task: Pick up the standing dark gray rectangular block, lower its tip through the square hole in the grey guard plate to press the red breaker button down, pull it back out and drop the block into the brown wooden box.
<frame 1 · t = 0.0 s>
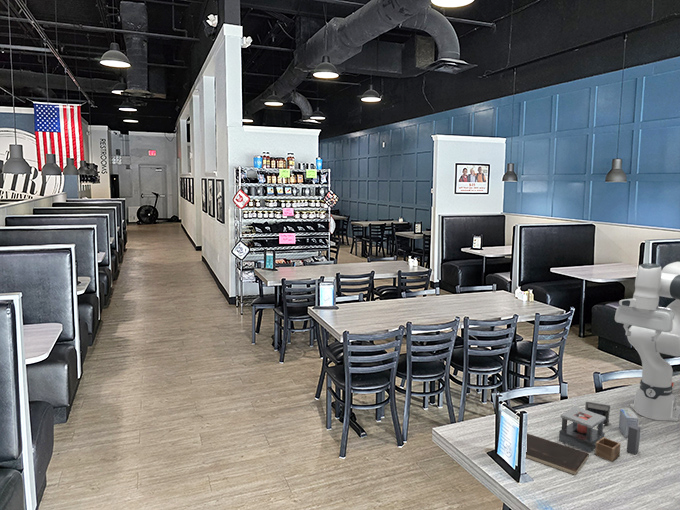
hand: (640, 338, 202), 39 cm above the table, tool pointing down, fingers open, 8 cm apart
breaker button: (582, 424, 197), point 7 cm above the table, slide at 0.0 cm
brown wooden box: (607, 455, 188), on the table
dark gray rectangular block: (632, 452, 191), on the table
electrical switch: (597, 423, 214), on the table
breaker: (581, 441, 198), on the table
hardcover book: (549, 456, 188), on the table
medicine box: (627, 433, 205), on the table
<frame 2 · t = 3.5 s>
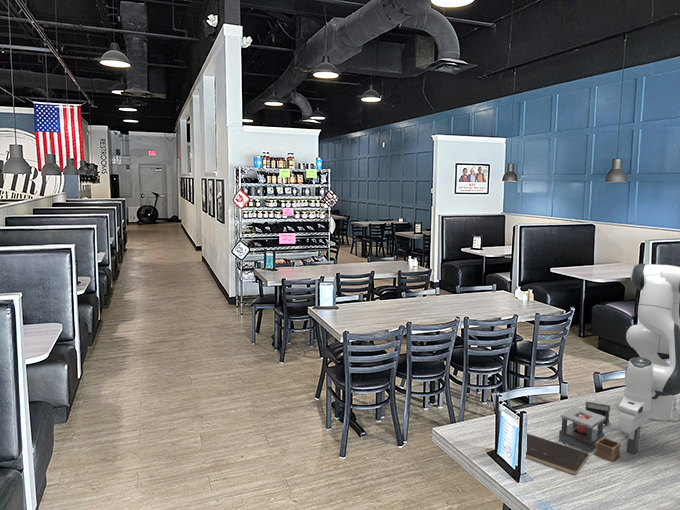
hand: (633, 436, 190), 6 cm above the table, tool pointing down, fingers closed on dark gray rectangular block, 3 cm apart
dark gray rectangular block: (632, 452, 191), on the table, touching gripper
everything else where it was.
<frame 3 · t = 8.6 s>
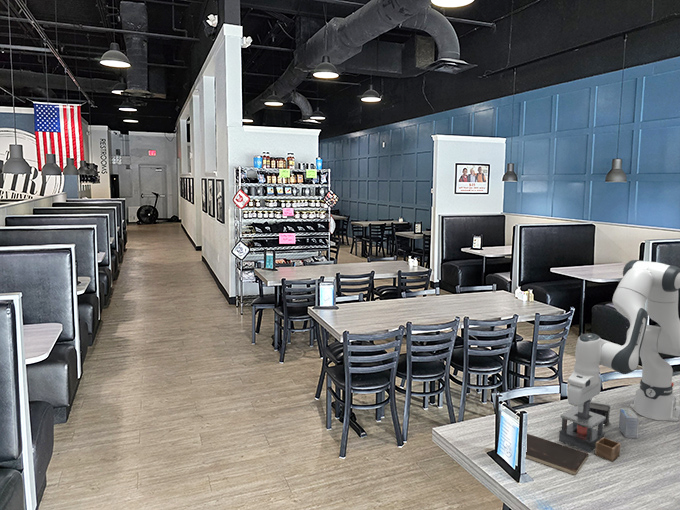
hand: (583, 410, 196), 13 cm above the table, tool pointing down, fingers closed on dark gray rectangular block, 3 cm apart
breaker button: (582, 431, 198), point 4 cm above the table, slide at 2.7 cm, touching dark gray rectangular block
dark gray rectangular block: (582, 425, 197), point 7 cm above the table, touching breaker button, gripper
everything else where it was.
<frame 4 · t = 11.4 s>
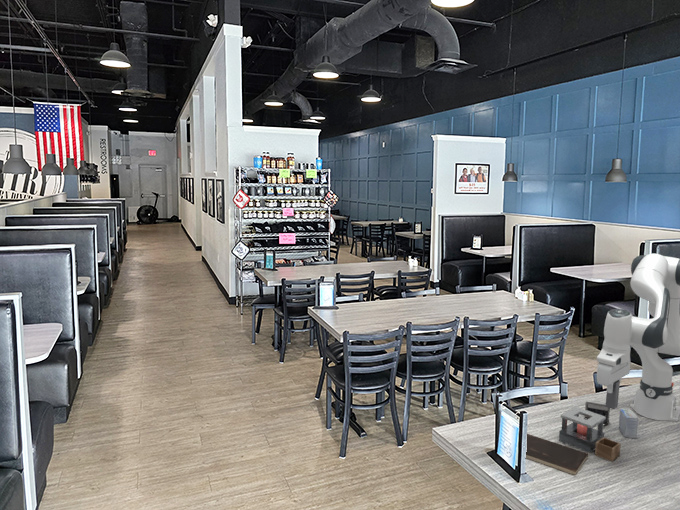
hand: (612, 390, 184), 25 cm above the table, tool pointing down, fingers closed on dark gray rectangular block, 3 cm apart
breaker button: (582, 431, 198), point 4 cm above the table, slide at 2.7 cm
dark gray rectangular block: (611, 406, 185), point 19 cm above the table, touching gripper
everything else where it was.
when the fingers open (8 cm above the table, at t = 14.1 s): dark gray rectangular block stays where it is, resting on brown wooden box.
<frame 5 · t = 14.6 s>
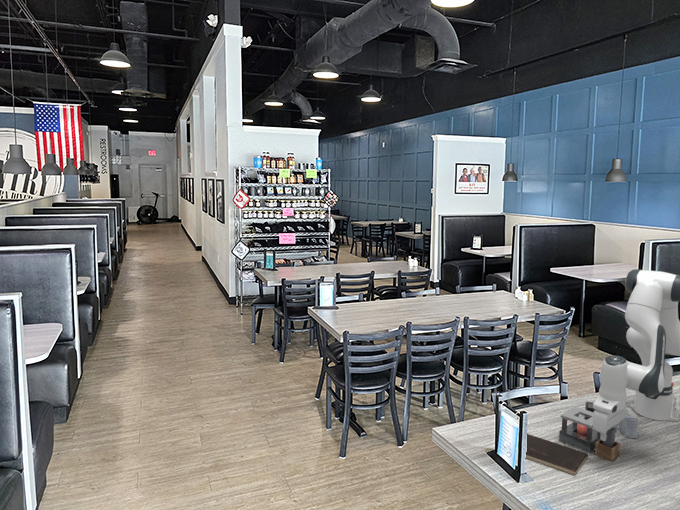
hand: (608, 436, 187), 8 cm above the table, tool pointing down, fingers open, 8 cm apart
dark gray rectangular block: (607, 454, 188), point 1 cm above the table, touching brown wooden box
everything else where it was.
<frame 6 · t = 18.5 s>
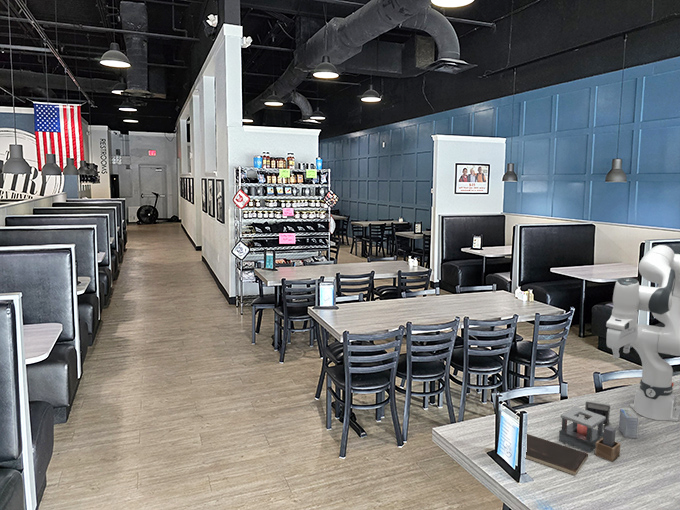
hand: (621, 355, 196), 34 cm above the table, tool pointing down, fingers open, 8 cm apart
nothing on the table moved.
at the end: breaker button slide at 2.7 cm; dark gray rectangular block 0.1 cm off-centre on the brown wooden box, point 0.6 cm above the brown wooden box's base; the gripper is holding nothing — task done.
